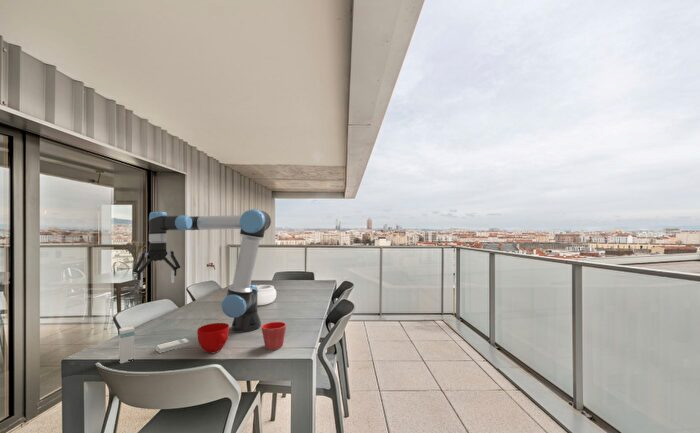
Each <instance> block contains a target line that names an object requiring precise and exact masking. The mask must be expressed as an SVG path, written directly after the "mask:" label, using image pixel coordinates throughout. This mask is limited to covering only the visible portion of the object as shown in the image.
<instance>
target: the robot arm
mask: <svg viewBox="0 0 700 433" xmlns="http://www.w3.org/2000/svg"><path fill="white" fill-rule="evenodd" d="M167 214H168V213H167V212H166V211H151V212H149V216H148V229H149V230H148V242H149V243H148V252H141V253H140V257H139V259H138V261H137V262H136V265H135V266H134V267H133V269H132V272H133V273H135V274H136V278H137V279H136V280H137V281H139V287H140V288H143V284H144V279H143V278H144V276H143V274H144V273H143V271H144V270H145V269H146V268H147V266H149V265H150V264H151V263H152V262H157V261H164V262H165V263H166V264H167V265H168V266H169V267H171V269H170V283H171V284H174V283H175V277H176V276H177V270H179V269H180V268H181V265H180V263H179V262H178V260H177V258H176V256H175V251H174V250H173V251H172V250H169V251H168V250H167V240H168V239H167V231H205V230H209V231H211V230H240V232H239V234H240V236H241V242H240V246H239V252H238V255H237V261H236V264H235V270H234V276H233V279H232V284H231V285H229V286H228V288H227V293H226V296H225V297H224V299H223V300H222V302H221V311H222V312H223V313H224V315H225V316H227V317H228V318H233V320H232V323H231V330H232V331H233V332H236V333H245V332H252V331H255V330H258V329H260V328H262V323H261V322H262V321H261V319H260V318H261V317H260V315H259V312H258V291H259V290H258V286H257V285H256V284H251V283H252V278H253V274H254V268H255V264H256V260H257V255H258V250H259V246H260V241H261V240H263V239H264V238H265V237H264V236H265V232H266V231H267V230H268V229H270V226H271V223H272V219H271V216H270V215H269V213H268V212H265V211H264V210H259V209H248V210H246V211H244V212H243V213H242V214H241V215H240V214H239V215H238V214H237V215H205V216H199V215H197V216H196V215H195V216H189V215H183V214H181V215H167ZM147 256H148V258H147V260H146V261H145V263H143V262H144V259H145V258H146V257H147ZM167 256H170V259H171V260H172V262H173V263H172V262H171V261H170V260H169V259H168V258H167ZM142 263H143V264H142ZM141 264H142V265H141ZM140 266H141V267H140Z"/></svg>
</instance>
